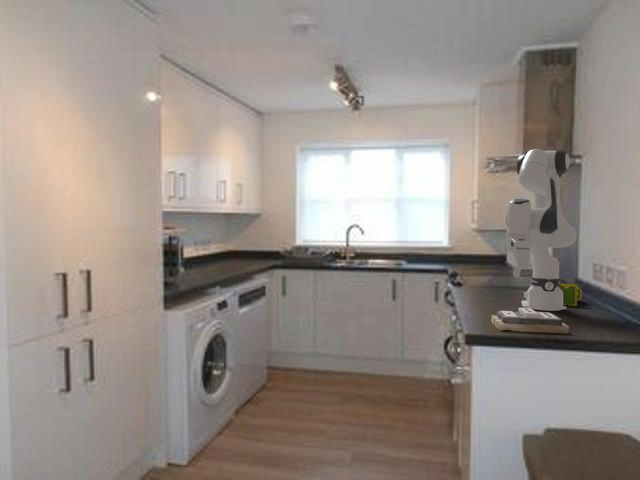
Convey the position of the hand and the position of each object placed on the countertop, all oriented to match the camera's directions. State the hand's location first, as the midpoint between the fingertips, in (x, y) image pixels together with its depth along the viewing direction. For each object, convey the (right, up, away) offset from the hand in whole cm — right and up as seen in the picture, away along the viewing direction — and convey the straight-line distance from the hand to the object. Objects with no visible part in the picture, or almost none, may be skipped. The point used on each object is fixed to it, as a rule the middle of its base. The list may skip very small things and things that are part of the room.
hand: (516, 277), depth 191 cm
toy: (+46, -17, +59) cm, 76 cm away
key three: (+10, -16, -3) cm, 19 cm away
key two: (+3, -15, -2) cm, 15 cm away
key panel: (+3, -19, -2) cm, 19 cm away
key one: (-3, -16, -1) cm, 16 cm away
